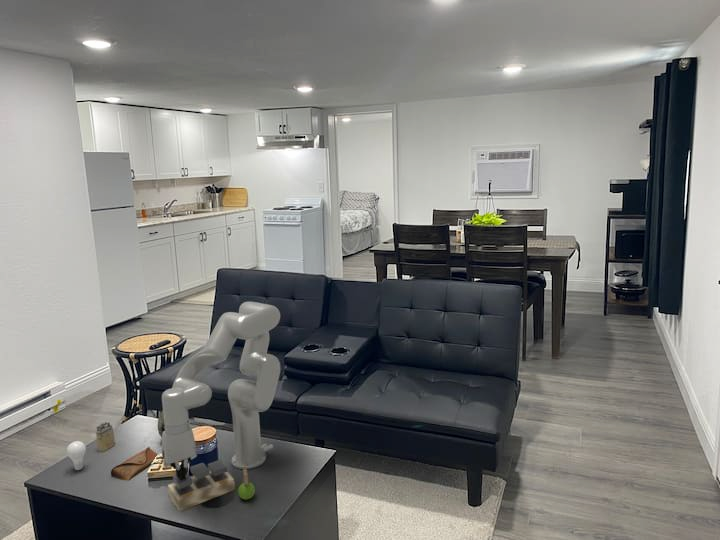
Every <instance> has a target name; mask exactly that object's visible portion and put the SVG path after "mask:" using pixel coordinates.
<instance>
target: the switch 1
mask: <svg viewBox="0 0 720 540" xmlns="http://www.w3.org/2000/svg"><path fill="white" fill-rule="evenodd" d="M172 480H173V481H172V482H173V483H175V484H176V485H177V487H178V488H179V489H181V488H185V487H187V486H189V485H192V484H193V483H192V478H191V476H190V475H189V474H188V473H187V475H186V479H183V480H180V479H179V478H177V476H176V474H175V475H173V476H172Z"/></svg>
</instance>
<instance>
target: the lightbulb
mask: <svg viewBox="0 0 720 540" xmlns="http://www.w3.org/2000/svg"><path fill="white" fill-rule="evenodd" d="M86 451H87V447H86V444H85V442H83V441H81V440H80V441H79V440H75V441H72V442H71V443H69V444H68V446H67V448H66V455H67V456H68V458H69V459H71V462H72V463H73V465H74V470H75V471H80V470H82V469H83V467H84V465H83V460H84V456H85V454H86Z"/></svg>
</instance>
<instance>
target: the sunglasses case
mask: <svg viewBox="0 0 720 540" xmlns="http://www.w3.org/2000/svg"><path fill="white" fill-rule="evenodd" d="M157 455H159V454H158V453H157V452H155V451H154V450H153V449H152V448H151V447H150V446H148V447H146V448H145V449H144V450H142V451H140V452H138V453H136V454H135V455H133V456H131V457H129V458H128V459H126V460H125V461H123V462H122V463H120V464H117V465H115V466H114V467H113V468H112V469H111V470H110V475H111V478H114V479H119V480H121V481H122V480H123V481H126V482H129V481H130V480H132V479H134V477H136V476H138V475H139V474H140V473H142V472H143V471H145V470H146V469H148V468H149V466H150V465H151V463H152V462H153V460H154V459H155V457H156V456H157ZM151 466H152V465H151ZM151 466H150V467H151Z"/></svg>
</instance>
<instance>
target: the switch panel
mask: <svg viewBox="0 0 720 540" xmlns="http://www.w3.org/2000/svg"><path fill="white" fill-rule="evenodd" d="M190 477H191V478H192V483H193V484H192V485H189V486H187V487H185V488H181V489H179V488H178V487H177V485H176V484H175V483H174V482H172V483H169V484H167V492H168V497H169V498H170V500H171V502H173V504H174V505H175V507H176V508H177V509H178V511H179V512H181V511H184V510H186V509H189V508H191V507H192V508H193V507H194V506H197V505H199V504H202V503H205V502H208V501H209V500H212V499H215V498H217V497H220V496H223V495H225V494H227V493H230V492H233V491H235V490H236V484H235V479H234V477H233V476H232V475H231V474H230V473H229V472H228V471H227V472H225V473H222V474H220V475H218V476H214V475H213V474H212V473H211V471H210V475H208V476H205V477H203V478H201V479H196V477H195V476H194V475H191V476H190Z"/></svg>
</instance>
